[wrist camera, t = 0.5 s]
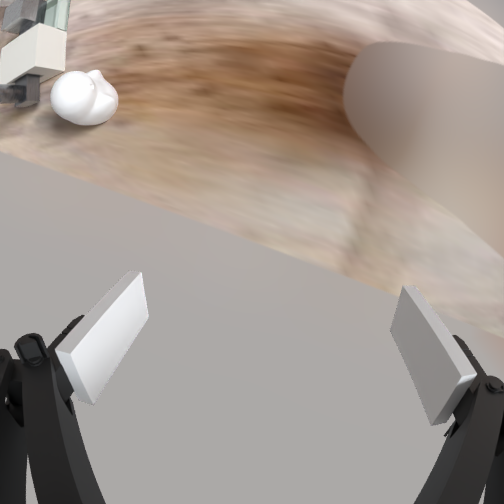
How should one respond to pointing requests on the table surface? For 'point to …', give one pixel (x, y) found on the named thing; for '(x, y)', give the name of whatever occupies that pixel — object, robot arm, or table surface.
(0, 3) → the white faceted bowl
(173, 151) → the table surface
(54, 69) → the housing
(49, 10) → the tray
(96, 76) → the figurine
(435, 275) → the table surface
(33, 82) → the grey l-shaped bracket
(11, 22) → the block
